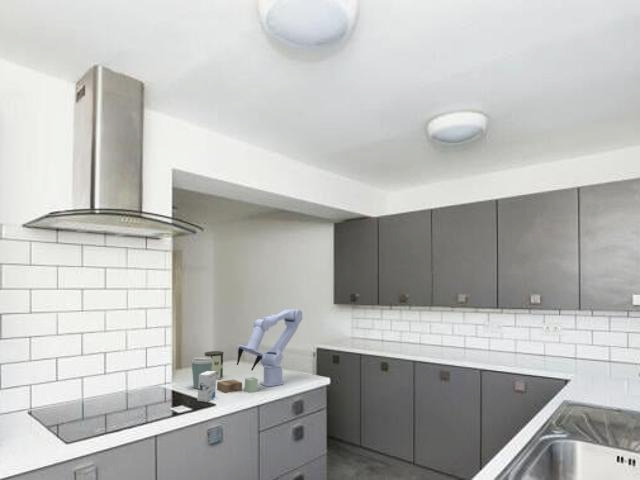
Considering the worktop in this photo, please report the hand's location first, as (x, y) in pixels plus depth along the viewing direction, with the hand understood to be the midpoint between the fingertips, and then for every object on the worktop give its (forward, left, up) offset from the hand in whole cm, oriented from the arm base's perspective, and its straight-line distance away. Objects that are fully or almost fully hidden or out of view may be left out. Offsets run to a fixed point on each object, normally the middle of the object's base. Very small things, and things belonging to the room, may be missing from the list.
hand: (244, 367), depth 208 cm
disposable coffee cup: (+13, -21, -12) cm, 27 cm away
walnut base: (+4, -8, -12) cm, 15 cm away
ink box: (+20, +1, -12) cm, 23 cm away
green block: (-3, +1, -12) cm, 12 cm away
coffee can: (-1, -37, -12) cm, 39 cm away
